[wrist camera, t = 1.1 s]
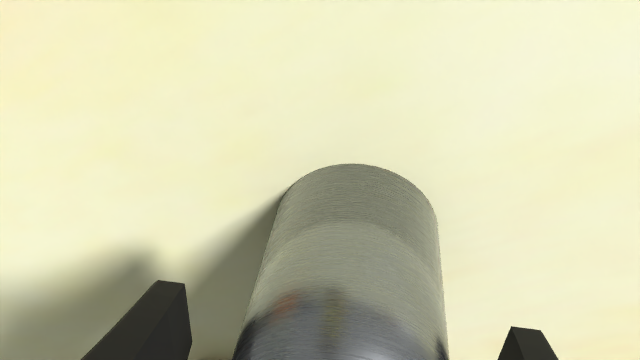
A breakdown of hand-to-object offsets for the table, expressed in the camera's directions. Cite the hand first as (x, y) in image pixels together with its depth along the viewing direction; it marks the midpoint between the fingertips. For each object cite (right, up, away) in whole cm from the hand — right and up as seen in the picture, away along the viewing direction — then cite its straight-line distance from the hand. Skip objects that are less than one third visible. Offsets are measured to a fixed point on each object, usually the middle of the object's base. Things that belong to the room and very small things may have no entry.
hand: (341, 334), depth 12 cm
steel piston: (+1, +2, +3) cm, 4 cm away
